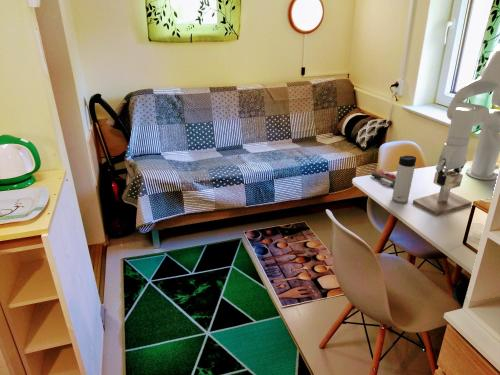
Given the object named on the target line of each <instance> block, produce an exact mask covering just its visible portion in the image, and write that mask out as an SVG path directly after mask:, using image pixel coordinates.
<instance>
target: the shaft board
mask: <svg viewBox="0 0 500 375" xmlns="http://www.w3.org/2000/svg"><path fill="white" fill-rule="evenodd" d="M472 202H473V201H471V200H468V199H467V198H465V197H462V196H461V195H458V194H456V193H454V192H451V189H449V190H447V189H445V188H443V187H441V186H440V190H439V192H436V193H432V194H429V195H427V196H423V197H420V198H419V197H418V198H416V199H413V200H412V204H414V205H415V206H417V207H419V208H421V209H423V210H424V211H426V212H428V213H430V214H432V215H434V216H436V217H439V216H442V215H445V214H448V213H451V212H454V211H458V210H460V209H464V208H468V207H469V206H472Z"/></svg>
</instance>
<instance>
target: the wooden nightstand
mask: <svg viewBox="0 0 500 375" xmlns="http://www.w3.org/2000/svg"><path fill="white" fill-rule="evenodd" d="M453 170H454V169H451V170H448V172H447V174H446V180H445V184H444V186H442V185H440V184H438V183H437V179H438V172H437V170H436V171H435V174H434V178H433V182H432V183H433V184H434V185H437V186H439V187H440V188H441V187H443V188H445V189H447V190H449V189H450V190H452V189H455V188H459V187H461V184H462V180H463V176H464V174H462V173H461V172H459V173H457V172H455V171H453ZM442 171H443V172H444V171H445V170H444V169H443V170H442Z"/></svg>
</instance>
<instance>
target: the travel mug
mask: <svg viewBox="0 0 500 375" xmlns="http://www.w3.org/2000/svg"><path fill="white" fill-rule="evenodd" d="M398 160H399V161H398V164H397V170H396V174H397V175H396V180H395V185H394V187H393V192H392V197H391V199H392V201H393V202H394V203H396V204H404V205H405V204H407V203H408V202H409V196H410V192H411V187H412V183H413V178H414V177H413V176H414V173H415V168H416V163H417V162H416V161H417V157H416V156H413V155H403V156H399V159H398Z"/></svg>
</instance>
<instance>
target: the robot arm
mask: <svg viewBox="0 0 500 375" xmlns="http://www.w3.org/2000/svg"><path fill="white" fill-rule="evenodd" d="M487 93H492V95H491V104H492V106H494V107H497V108H500V44H499V45H497V46H495V48H494V49H493V51H492V53H491V54H490V55H489V57H488V59H487V61H486V63H485V64H484V66H483V68H482V70H481V72H480V74H479V75H478V77H477V79H475V80H472V81H470V82H469V83H467V84H465V85H464V86H462V87H461V88H460V89H459V90H457V91H456V93H455V94H454V95H453V98H452V99H451V101H450V103H449V105H448V107H447V111H446V117H447V118H448V120H450V124H449V128H448V132H447V138H446V142H445V143H444V144H443V146H442V149H441V152H440V154H439V158H438V162H437V166H436V167H435V169H436V171H437V172H438V179H437V183H438V184H440V185H442V186H444V184H445V180H446V174H447V172H448V170H453V171H455V172H457V173H461V172H462V170H463V169H464V167H465V165H466V164H467V162H468V160H467V154H468V146H469V143H470V139H471V136H472V135H471V134H472V131H473V127H477V126H480V133H479V137H478V142H477V144H476V149H475V152H474V155H473V159H472V163H471V167H469V168H467V169H466V171H465V173H466V175H467V176H469V177H471V178H473V179H477V180H480V181H493V180H495V179H496V178H497V174H496V172H494V171H496V170H498V169H499V168H500V166H499V165H497V162H498V158H499V156H500V109H496V108H495V109H489V108H488V107H487V106H484V105H480V104H474V103H469V102H466V101H465V100H467V99H469V98H471V97H474V96H479V95H482V94H487ZM442 170H445V171H444V172H443V171H442Z"/></svg>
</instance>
